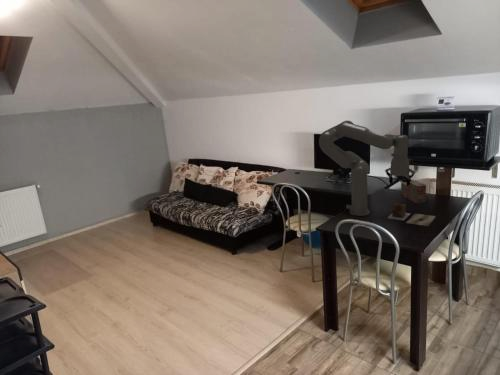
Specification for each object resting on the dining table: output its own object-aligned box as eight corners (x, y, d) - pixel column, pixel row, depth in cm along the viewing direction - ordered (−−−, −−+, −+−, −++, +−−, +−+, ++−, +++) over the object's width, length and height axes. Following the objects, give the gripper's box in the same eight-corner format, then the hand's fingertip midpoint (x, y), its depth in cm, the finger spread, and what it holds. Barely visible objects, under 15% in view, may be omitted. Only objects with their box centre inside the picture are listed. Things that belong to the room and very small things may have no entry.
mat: (386, 218, 232) (386, 218, 232) (394, 211, 242) (394, 211, 242) (403, 220, 225) (403, 220, 225) (410, 213, 236) (410, 213, 236)
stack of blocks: (400, 195, 274) (401, 178, 271) (409, 194, 275) (409, 177, 271) (416, 203, 253) (417, 185, 250) (425, 202, 254) (426, 184, 251)
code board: (405, 222, 222) (405, 222, 222) (414, 213, 236) (414, 213, 236) (428, 226, 215) (428, 226, 215) (435, 216, 228) (435, 216, 228)
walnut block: (392, 216, 233) (392, 205, 232) (395, 213, 238) (395, 202, 236) (402, 217, 230) (402, 206, 228) (405, 214, 234) (405, 204, 232)
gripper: (383, 156, 227) (382, 184, 231) (414, 158, 216) (412, 187, 221) (387, 154, 232) (387, 181, 237) (417, 156, 222) (416, 184, 226)
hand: (399, 184), depth 229 cm, fingers open, 9 cm apart
